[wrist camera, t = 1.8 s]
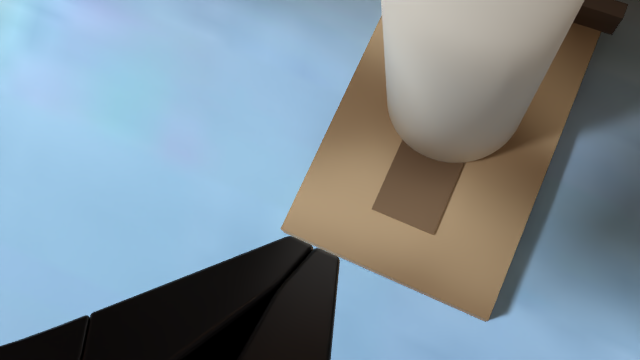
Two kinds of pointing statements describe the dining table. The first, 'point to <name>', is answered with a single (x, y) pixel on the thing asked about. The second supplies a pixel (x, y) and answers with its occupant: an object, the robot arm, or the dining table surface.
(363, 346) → the dining table surface
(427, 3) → the post
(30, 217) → the dining table surface
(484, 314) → the level stand
